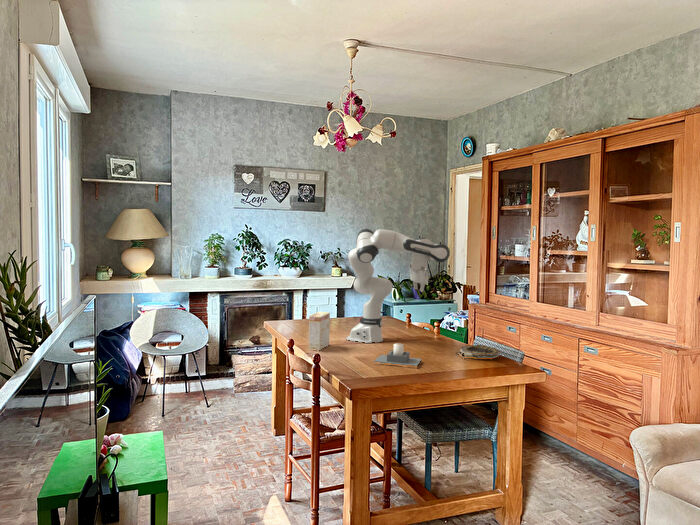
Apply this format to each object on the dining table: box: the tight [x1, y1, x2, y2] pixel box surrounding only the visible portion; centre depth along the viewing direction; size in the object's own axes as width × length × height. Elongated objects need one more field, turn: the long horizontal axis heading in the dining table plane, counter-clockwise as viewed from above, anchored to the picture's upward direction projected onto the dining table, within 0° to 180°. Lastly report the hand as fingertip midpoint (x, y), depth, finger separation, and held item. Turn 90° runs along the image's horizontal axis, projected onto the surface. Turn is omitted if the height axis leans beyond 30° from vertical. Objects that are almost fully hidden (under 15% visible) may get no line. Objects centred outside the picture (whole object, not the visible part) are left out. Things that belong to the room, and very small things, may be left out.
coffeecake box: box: [308, 311, 331, 351], centre depth 294 cm, size 15×7×20 cm, turn 160°
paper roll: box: [393, 343, 405, 356], centre depth 266 cm, size 5×5×8 cm
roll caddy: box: [373, 350, 422, 366], centre depth 266 cm, size 22×14×5 cm, turn 73°
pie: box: [457, 344, 501, 358], centre depth 284 cm, size 28×27×5 cm
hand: (418, 290), depth 294 cm, fingers open, 8 cm apart
